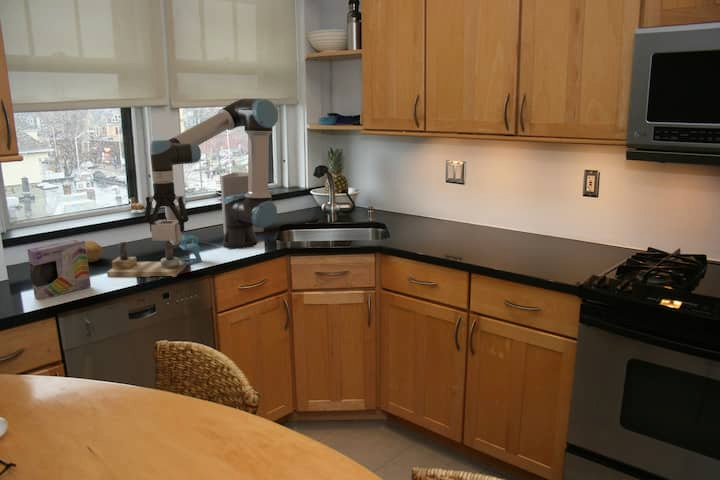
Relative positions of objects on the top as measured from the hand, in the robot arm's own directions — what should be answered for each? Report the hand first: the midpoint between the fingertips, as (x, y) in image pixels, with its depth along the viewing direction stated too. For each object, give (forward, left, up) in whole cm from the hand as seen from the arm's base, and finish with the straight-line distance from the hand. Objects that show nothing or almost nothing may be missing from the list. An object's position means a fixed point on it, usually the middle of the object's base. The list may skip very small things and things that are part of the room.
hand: (168, 240), depth 241 cm
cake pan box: (+30, +26, -13) cm, 42 cm away
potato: (+38, -14, -13) cm, 42 cm away
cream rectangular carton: (-12, -72, -13) cm, 74 cm away
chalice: (+13, -45, -13) cm, 49 cm away
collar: (0, 0, +1) cm, 1 cm away
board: (+9, 0, -13) cm, 16 cm away
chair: (-4, -13, -13) cm, 19 cm away
